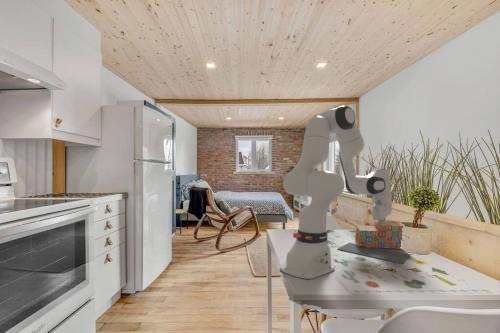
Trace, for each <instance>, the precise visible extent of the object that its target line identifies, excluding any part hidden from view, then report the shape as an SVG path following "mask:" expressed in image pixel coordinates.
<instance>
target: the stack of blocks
mask: <svg viewBox="0 0 500 333" xmlns="http://www.w3.org/2000/svg"><path fill="white" fill-rule="evenodd" d="M373 221H374V224H373V225H356V226H355V237H354V238H355V239H354V240H355V244H357V245H358V247H366V248H380V249H393V250H394V249H395V250H396V249H398V250H401V249H400V247H401V240H402V228H403V226H405V227H406V225H405V224H403V223H402V222H401V221H400V220H391V219H390V220H386V221H379V220H373Z"/></svg>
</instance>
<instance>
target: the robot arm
mask: <svg viewBox="0 0 500 333" xmlns="http://www.w3.org/2000/svg"><path fill="white" fill-rule="evenodd" d="M306 123H307V124H306V127H305V130H304V135H303V143H302V149H301V155H300V157H299V160H298V161H297V163H296V165H295V166H294V167H293V169H292V170H290V171H289V172H287V173H286V174H285V176H284V177H283V181H282V184H283V185H282V187H283V189H284V191H285V192H286V193H287V194H288V195H292V196H295V197H305V198H306V197H307V198H311V201H310V204H307V205H305V206H303V207H302V208H301V209H300V210H299V212H298V229H297V232H293V234H292V237H293V238H294V239H296V241H295V242H294V243H293V245H292V246H291V247H290V248H289V251H288V252H287V253H286V262H285V263H283V264H281V265H280V267H279V269H280V271H281V272H283V273H285V274H287V275H289V276H292V277H296V278H298V279H299V278H300V279H306V280H312V279H315V278H317V277H320V276H323V275H327V274H329V273H332V272H334V271H335V266H334V265H332V254H331V252H332V251H331V247H330V246H329V244H328V242H327V241H328V231H327V215H328V211H329V208H330V206H331V204H332V203H333V201H335V200H336V199H337V198H338V197H341V195H342V194H343V192H344V190H345V188H346V190H347V191H348V192H349V193H350V194H353V195H371V198H372V199H371V201H372V203H373V206H372V219H373V221H375V220H377V221H387V220H386V219H387V217H388V216H391V214H392V207H393V205H392V204H393V203H392V202H393V200H394V198H393V197H392V192H391V186H392V185H391V175H390V172H389V170H388V169H385V168H373V169H372V171H371V172H370V173H369V174H367V175H359V174H357V173H356V170H355V165H354V162H353V160H354V158H355V157H357V156H358V155H360V154H361V153H362V151H363V150H364V148H365V142H364V138H363V136H362V133H361V131H360V129H359V127H358V125H357V123H356V113H355V111H354V110H353V109H352V107H350V106H348V105H339V106H338V107H336V108H331V109H327V110H325V111H322V112H320V113H318V114H315V115H314V116H313V117H311V118H309V119H308V120H307V122H306ZM331 134H335V137H336V140H337V142H338V145H339V148H340V149H339V150H340V151H339V154H338V155H339V161H340V166H341V169H342V172H343V176H344V177H342V175H341V174H340V173H339V172H335V171H330V170H316V169H317V167H319V166H320V165H321V164H324V163H325V162H326V161H327V159H329V155H330V154H329V153H330V152H329V150H330V142H331Z"/></svg>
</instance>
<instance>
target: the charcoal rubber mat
mask: <svg viewBox="0 0 500 333" xmlns="http://www.w3.org/2000/svg"><path fill="white" fill-rule="evenodd" d="M336 250H337V251H341V252H346V253H351V254H356V255H359V256H364V257H369V258H374V259H377V260H382V261H387V262H392V263H395V264H400V265H403V264H404V263H405V262H406V261H407V259H408V258H409V257H410V256H411V254H410V253H406V252H405V253H404V252H400V251H395V250H390V249H386V248H366V247H358V245H357V243H353V242H348V243H345V244H344V245H342V246H340V247H338V248H337V249H336Z"/></svg>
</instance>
